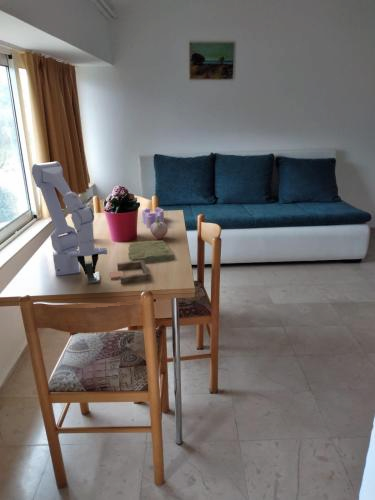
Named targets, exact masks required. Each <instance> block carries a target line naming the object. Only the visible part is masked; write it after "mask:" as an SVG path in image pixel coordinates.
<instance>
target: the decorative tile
mask: <svg viewBox="0 0 375 500" xmlns="http://www.w3.org/2000/svg"><path fill="white" fill-rule="evenodd" d="M127 254H128V258H129V260H130V262H132V261H140V260H144V262H145V264H148V263H147V262H150V263H155V261H158V262H165V261H164V260H166V261H172V260H173V259H174V258H173V257H174V255H173V253H172V251H171V249H170V248H169V246H168V245H167V244H166V242H165V241H164V240H162V239H160V240H148V241H136V242H133V243H129V246H128V253H127Z"/></svg>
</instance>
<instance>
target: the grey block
mask: <svg viewBox="0 0 375 500" xmlns="http://www.w3.org/2000/svg"><path fill="white" fill-rule="evenodd" d="M85 265H86V271H87V275H86V279H87V284H89V285H90V284H95V283H96V284H97V283H100V282H101V279H100V277H101V276H100V271H95V274H93V263H92V260H88V261H87V260H86V261H85Z"/></svg>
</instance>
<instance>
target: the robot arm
mask: <svg viewBox="0 0 375 500" xmlns="http://www.w3.org/2000/svg"><path fill="white" fill-rule="evenodd" d="M31 176H32V178H33V181H34V183H35V185H36V188H39V189H40V191H41V194H42V197H43V199H44V203H45V205H46V209H47V210H48V215H49V216H50V219H51V223H52V224H53V227H54V230H53V231H52V233H51V234H50V240H51V246H52V249H53V250H54V252H52V254H53V255H52V256H53V265H54V270H55V276H63V275H71V274H80V273H81V268H82V270H83V272H84V275H85V276H87V271H86V257H91V261H92V266H93V274H95V272H96V267H97V263H98V260H99V255H108V249H107V247H105V248H104V247H103V248H102V247H101V248H100V247H99V248H98V247H95V237H94V238H93V235H94V229H93V230H92V222H93V223H94V220H95V213H94V211H93V209H92V208H91V206H87V204H84V203H83V200H81V198H80V197H79V195H78V194H77V192H74V191H72V190H71V188H70V186H69V185H68V183H67V181H66V180H65V177H64V170H63V167H62V165H61V164H60V162H58V161H57V160H56V161H51V162H44V163H43V162H42V163H34V164H32V167H31ZM55 188H56V189H55ZM56 190H57V191H58V192H59V193H60V194H61V195H62V203H64V205H65V206H66V208H67V210H68V211H69V213H70V214H71V216H70V218H71V221H72V223H73V227H72V226H71V225H68V222H67V220H66V217H65V214H64V210H63V208H62V206H61V203H60V201H59V198H58V197H59V196H58V195H57V192H56Z"/></svg>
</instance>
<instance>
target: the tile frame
mask: <svg viewBox="0 0 375 500" xmlns="http://www.w3.org/2000/svg"><path fill="white" fill-rule="evenodd" d="M146 264H147V263H145V262H144V260H140V261H132V262H131V261H125V262H117V264H116V266H117V271H124V270H129V269H136V268H137V269H138V268H139V269H141V270H142V273H136V274H129V275H124V276H120V278H121V279H120V284H121V285H122V284H131V283H138V282H139V283H140V282H146V281H151V277H150V275H151V274H150V271H149V270H148V267H147V265H146Z"/></svg>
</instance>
